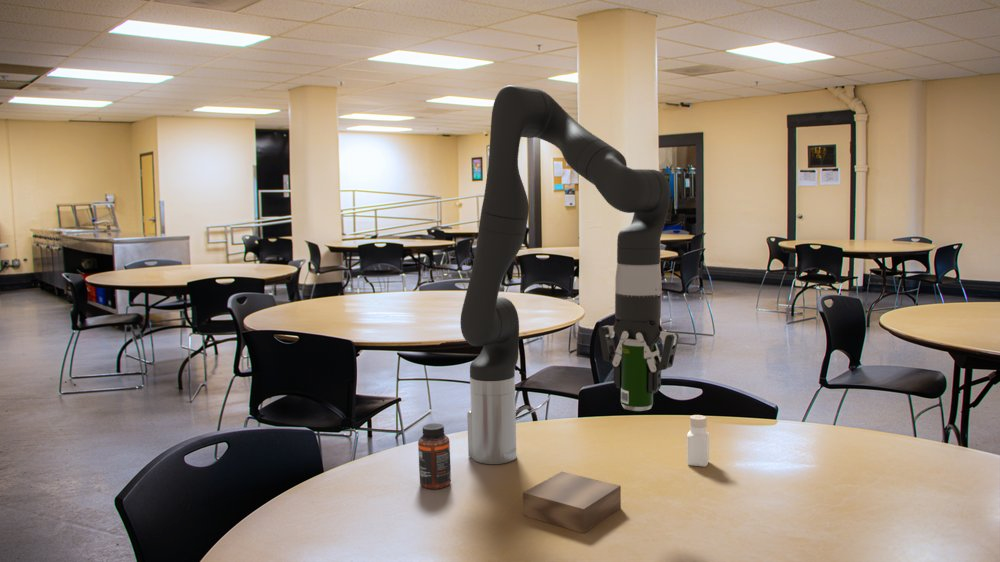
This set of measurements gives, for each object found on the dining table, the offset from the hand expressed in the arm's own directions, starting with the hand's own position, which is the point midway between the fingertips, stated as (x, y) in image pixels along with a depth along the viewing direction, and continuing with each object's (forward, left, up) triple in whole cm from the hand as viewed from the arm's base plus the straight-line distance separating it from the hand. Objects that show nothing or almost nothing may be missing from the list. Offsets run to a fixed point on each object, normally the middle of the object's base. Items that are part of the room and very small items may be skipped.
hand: (636, 389), depth 127 cm
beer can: (0, 0, -3) cm, 3 cm away
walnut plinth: (-8, -8, -21) cm, 24 cm away
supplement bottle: (-36, -12, -21) cm, 44 cm away
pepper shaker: (0, +26, -21) cm, 34 cm away
